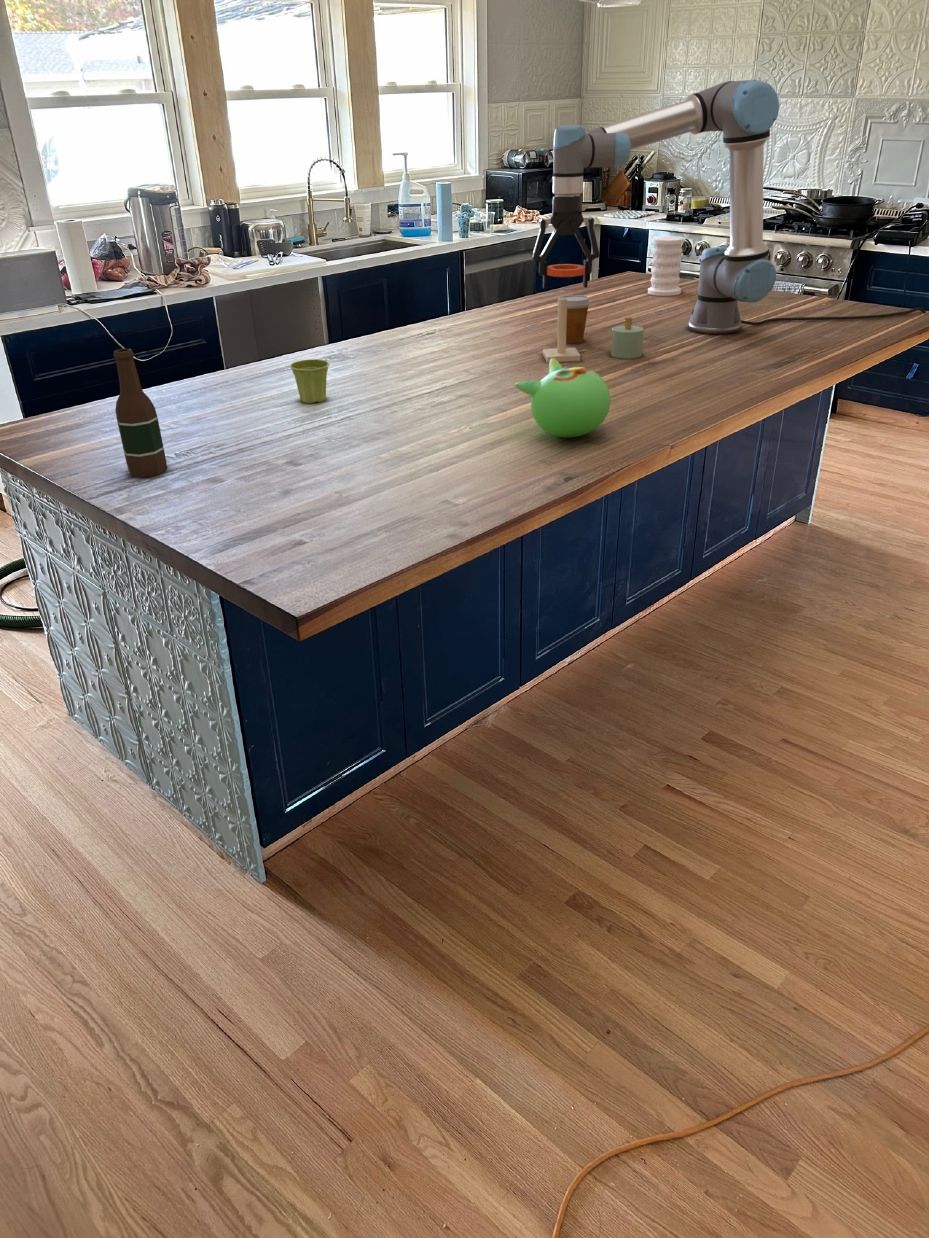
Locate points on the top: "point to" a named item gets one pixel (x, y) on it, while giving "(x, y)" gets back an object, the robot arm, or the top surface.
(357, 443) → the top surface
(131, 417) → the beer bottle
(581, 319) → the disposable coffee cup
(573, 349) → the tall post
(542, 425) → the toy bird
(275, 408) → the top surface
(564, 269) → the ring
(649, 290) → the decorative container
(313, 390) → the plant pot
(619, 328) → the green cylinder with peg
